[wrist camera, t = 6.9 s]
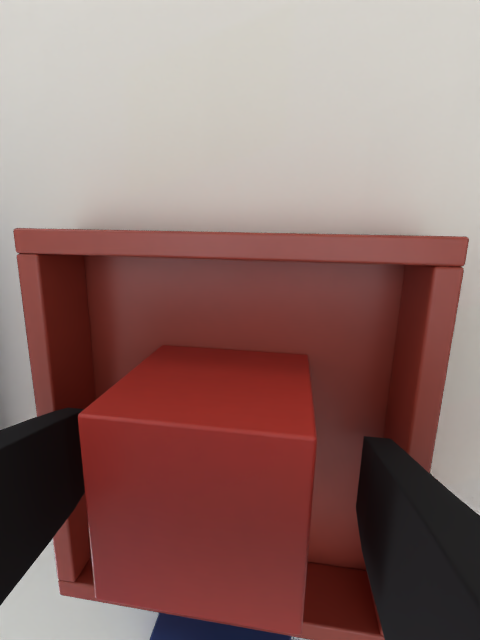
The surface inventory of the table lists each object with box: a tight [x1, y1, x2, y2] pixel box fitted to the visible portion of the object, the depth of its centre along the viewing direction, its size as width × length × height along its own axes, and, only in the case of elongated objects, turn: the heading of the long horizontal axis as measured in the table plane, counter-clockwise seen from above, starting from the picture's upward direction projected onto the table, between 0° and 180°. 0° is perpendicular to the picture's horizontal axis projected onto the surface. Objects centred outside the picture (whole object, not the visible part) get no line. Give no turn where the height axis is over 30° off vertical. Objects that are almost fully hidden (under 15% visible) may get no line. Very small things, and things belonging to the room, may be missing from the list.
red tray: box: [13, 228, 469, 640], centre depth 10 cm, size 11×10×2 cm
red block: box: [78, 345, 317, 635], centre depth 9 cm, size 4×4×4 cm
